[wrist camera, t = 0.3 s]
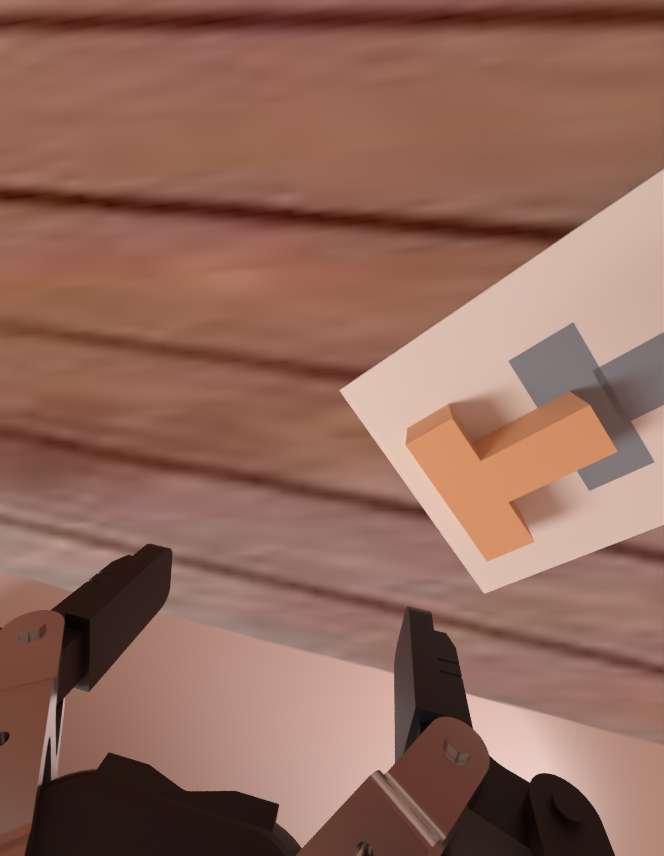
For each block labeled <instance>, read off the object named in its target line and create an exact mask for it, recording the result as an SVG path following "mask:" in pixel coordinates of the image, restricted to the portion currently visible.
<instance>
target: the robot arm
mask: <svg viewBox="0 0 664 856" xmlns="http://www.w3.org/2000/svg"><path fill="white" fill-rule="evenodd" d="M171 567H172V550H171V549H170V548H166V547H162V546H158V545H153V544H147V545H145V546H144V547H143V548H142V549H141V550H139V551H138V552H137V553H136V554H135V555H133V556H131V555H127V556H124V557H122V558H120V559H117V560H115V561H113V562H111V563H110V564H109V565H107V566H106V567H105V568H104V569H102V570H101V571H100V572H99V574H96V575H95V576H93V577H92V578H91V579H90V580H89V582H86V583H85V584H83V585H82V586H81V587H80V588H78V589H77V590H76V591H74V592H73V593H72V594H71V595H70V596H68V597H67V598H66V599H64V600H63V601H62V602H61V603H59V604H58V605H57V606H55V607H54V608H53V609H52V610H41V611H35V612H31V613H27V614H24V615H21V616H19V617H17V618H15V619H13V620H12V621H10V622H9V623H8V624H6V625H5V626H4V627H3V628H0V856H615V854H614V852H613V849H612V847H611V844H610V842H609V839H608V836H607V834H606V831H605V829H604V827H603V824H602V821H601V819H600V817H599V815H598V814H597V812H596V810H595V809H594V807H593V806H592V804H591V803H590V802H589V801H588V800H587V798H586V797H585V796H584V795H583V794H582V793H581V792H580V791H579V790H578V789H577V788H575V787H574V786H573V785H572V784H570V783H569V782H567V781H566V780H564V779H562V778H560V777H558V776H555V775H552V774H546V773H542V774H538V775H536V776H535V777H533V778H532V780H531V782H530V783H529V782H527V781H526V780H524V779H522V778H521V777H519V776H517V775H516V774H514V773H512V772H510V771H509V770H507V769H505V768H504V767H502V766H501V765H500V764H498V763H497V762H496V761H495V760H493V759H492V758H491V757H490V756H489V754H488V751H487V748H486V746H485V744H484V742H483V740H482V739H481V737H480V736H479V735H478V734H477V733H476V732H475V731H474V730H473V727H472V722H471V718H470V713H469V709H468V704H467V699H466V694H465V689H464V685H463V680H462V679H461V676H462V675H461V670H460V666H459V661H458V656H457V651H456V648H455V646H454V644H453V643H452V641H451V640H450V638H449V637H448V635H447V634H446V633H443V632H439V631H435V630H434V627H433V620H432V614H431V612H430V611H426V610H421V609H417V608H413V607H409V606H407V608H406V611H405V615H404V619H403V623H402V627H401V631H400V635H399V639H398V643H397V648H396V654H395V663H394V690H395V691H394V692H395V764H394V765H393V766H392V767H391V769H390V770H389V771H388V772H387V773H385V774H384V775H383V773H382V772H381V771H379V770H378V771H375V772H374V773H373V774H371V775H370V776H369V777H368V778H367V779H366V780H365V782H364V783H363V784H362V785H361V786H360V787H359V788H358V789H357V790H356V791H355V792H354V793H353V795H352V796H351V797H350V798H349V799H348V800H347V801H346V802H345V803H344V804H343V805H342V806H341V807H340V808H339V809H338V811H337V812H336V813H335V814H334V815H333V816H332V817H331V818H330V819H329V820H328V821H327V822H326V823H325V824H324V826H323V827H322V828H321V829H320V830H319V831H318V832H317V833H316V834H315V835H314V836H313V838H311V840H310V841H309V842H308V843H307V844H306V845H305V846H304V847H303V848H301V847H300V845H299V844H298V843H297V842H296V840H295V839H294V838H293V837H292V836H291V835H290V834H289V833H288V832H287V831H286V830H285V829H283V828H282V827H281V826H279V825H278V824H277V823H276V819H277V813H278V808H279V804H277V803H273V802H270V801H267V800H263V799H260V798H257V797H254V796H250V795H247V794H243V793H240V792H237V791H194V792H193V791H192V792H191V791H185V790H183V789H181V788H180V787H179V786H177V785H176V784H175V783H173V782H172V781H170V780H169V779H168V778H166V777H165V776H164V775H162V774H161V773H159V772H158V771H157V770H156V769H154V768H153V767H152V766H150V765H148V764H145V763H142V762H139V761H135V760H132V759H129V758H126V757H122V756H119V755H115V754H112V753H108V754H107V756H106V757H105V759H104V760H103V761H102V763H101V764H100V766H99V767H98V769H90V770H83V771H78V772H74V773H71V774H67V775H64V776H61V777H59V778H57V769H58V760H59V751H60V742H61V733H62V724H63V714H64V705H65V696H66V695H67V694H68V693H69V692H70V690H72V689H73V688H77V689H80V690H84V691H87V692H89V691H90V690H91V689H92V688H93V687H94V686H95V684H96V683H97V682H98V681H99V680H100V679H101V677H102V676H103V675H104V674H105V673H106V672H107V671H108V669H109V668H110V667H111V666H112V665H113V664H114V662H115V661H116V660H117V659H118V657H120V655H121V654H122V653H123V652H124V651H125V650H126V649H127V647H128V646H129V645H130V644H131V643H132V642H133V640H134V639H135V638H136V637H137V636H138V635H139V633H140V632H141V631H142V630H143V629H144V628H145V626H146V625H147V624H148V623H149V622H150V621H151V620H152V618H153V617H154V616H155V615H156V614H157V613H158V611H159V610H160V609H161V608H162V607H163V605H164V603H165V601H166V599H167V597H168V594H169V590H170V580H171Z"/></svg>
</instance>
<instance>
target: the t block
mask: <svg viewBox="0 0 664 856" xmlns="http://www.w3.org/2000/svg"><path fill="white" fill-rule="evenodd" d="M406 447H407V448H408V449H409V451H410V452H411V454H412V455H413V457H414V458H415V459H416V461H417V462H418V464H419V465H420V467H421V468H422V469H423V471H424V472H425V474H426V475H427V477H428V478H429V479H430V481H431V482H432V484H433V485H434V487H435V488H436V489H437V491H438V492H439V494H440V495H441V497H442V498H443V499H444V501H445V502H446V504H447V505H448V507H449V508H450V509H451V511H452V512H453V514H454V515H455V517H456V518H457V519H458V521H459V522H460V524H461V525H462V527H463V528H464V529H465V531H466V532H467V534H468V535H469V537H470V538H471V539H472V541H473V542H474V544H475V545H476V547H477V548H478V549H479V551H480V552H481V554H482V555H483V557H484V558H485V559H486V561H490V560H492V559H495V558H497V557H499V556H502V555H504V554H507V553H509V552H512V551H514V550H516V549H519V548H521V547H524V546H526V545H529V544H531V543H533V542H534V539H533V537H532V535H531V533H530V531H529V528H528V526H527V524H526V522H525V520H524V517H523V515H522V514H521V512H520V511H519V509H518V508H517V506H516V505H515V503H514V502H513V500H514V499H517V498H519V497H521V496H523V495H525V494H527V493H530V492H532V491H534V490H536V489H538V488H540V487H543V486H545V485H547V484H549V483H551V482H553V481H556V480H558V479H560V478H562V477H564V476H566V475H569V474H571V473H573V472H575V471H577V470H579V469H582V468H584V467H586V466H588V465H590V464H592V463H595V462H597V461H599V460H601V459H603V458H605V457H608V456H610V455H612V454H614V453H616V452H618V451H617V449H616V448H615V446H614V444H613V443H612V441H611V439H610V438H609V436H608V434H607V433H606V431H605V429H604V428H603V426H602V424H601V423H600V421H599V419H598V418H597V416H596V414H595V413H594V411H593V409H592V408H591V406H590V405H589V404H588V403H586V402H585V401H583V400H582V399H580V398H579V397H577V396H576V395H574V394H573V393H571V392H570V391H568V392H566V393H564V394H562V395H560V396H559V397H557V398H555V399H553V400H551V401H549V402H547V403H546V404H544V405H542V406H540V407H538V408H536V409H534V410H533V411H531V412H529V413H527V414H525V415H523V416H521V417H520V418H518V419H516V420H514V421H512V422H510V423H508V424H507V425H505V426H503V427H501V428H499V429H497V430H495V431H494V432H492V433H490V434H488V435H486V436H484V437H482V438H481V439H479V440H477V441H475V442H474V441H473V440H472V438H471V437H470V435H469V434H468V432H467V431H466V429H465V428H464V426H463V425H462V423H461V422H460V420H459V419H458V417H457V416H456V414H455V413H454V411H453V410H452V408H451V407H450V405H449V404H447V405H445V406H444V407H442V408H440V409H439V410H437V411H435V412H434V413H432V414H430V415H429V416H427V417H425V418H424V419H422V420H420V421H418V422H417V423H415V424H413V425H412V426H410V427H408V428H407V435H406Z"/></svg>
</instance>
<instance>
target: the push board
mask: <svg viewBox="0 0 664 856" xmlns="http://www.w3.org/2000/svg"><path fill="white" fill-rule="evenodd" d="M339 391H340V392H341V393H342V395H343V396H344V398H345V399H346V400H347V402H348V403H349V405H350V406H351V407H352V409H353V410H354V412H355V413H356V414H357V416H358V417H359V419H360V420H361V421H362V423H363V424H364V426H365V427H366V428H367V430H368V431H369V433H370V434H371V435H372V437H373V438H374V440H375V441H376V442H377V444H378V445H379V447H380V448H381V449H382V451H383V452H384V454H385V455H386V457H387V458H388V459H389V461H390V462H391V464H392V465H393V466H394V468H395V469H396V471H397V472H398V473H399V475H400V476H401V478H402V479H403V480H404V482H405V483H406V485H407V486H408V487H409V489H410V490H411V492H412V493H413V494H414V496H415V497H416V499H417V500H418V501H419V503H420V504H421V506H422V507H423V508H424V510H425V511H426V513H427V514H428V515H429V517H430V518H431V520H432V521H433V522H434V524H435V525H436V527H437V528H438V529H439V531H440V532H441V534H442V535H443V537H444V538H445V539H446V541H447V542H448V544H449V545H450V546H451V548H452V549H453V551H454V552H455V553H456V555H457V556H458V558H459V559H460V560H461V562H462V563H463V565H464V566H465V567H466V569H467V570H468V572H469V573H470V574H471V576H472V577H473V579H474V580H475V581H476V583H477V584H478V586H479V587H480V588H481V590H482V591H483V593H484V594H485V593H487V592H490V591H492V590H495V589H498V588H500V587H503V586H505V585H508V584H511V583H513V582H516V581H518V580H521V579H524V578H526V577H529V576H531V575H534V574H537V573H539V572H542V571H544V570H547V569H550V568H552V567H555V566H557V565H560V564H563V563H565V562H568V561H570V560H573V559H576V558H578V557H581V556H583V555H586V554H589V553H591V552H594V551H596V550H599V549H602V548H604V547H607V546H610V545H612V544H615V543H617V542H620V541H623V540H625V539H628V538H630V537H633V536H636V535H638V534H641V533H643V532H646V531H649V530H651V529H654V528H656V527H659V526H662V525H664V168H663V169H662V170H660V171H659V172H658V173H656V174H655V175H653V176H652V177H650V178H649V179H647V180H646V181H644V182H643V183H641V184H640V185H638V186H637V187H636V188H634V189H633V190H631V191H630V192H628V193H627V194H625V195H624V196H622V197H621V198H619V199H618V200H617V201H615V202H614V203H612V204H611V205H609V206H608V207H606V208H605V209H603V210H602V211H600V212H599V213H598V214H596V215H595V216H593V217H592V218H590V219H589V220H587V221H586V222H584V223H583V224H581V225H580V226H578V227H577V228H576V229H574V230H573V231H571V232H570V233H568V234H567V235H565V236H564V237H562V238H561V239H559V240H558V241H557V242H555V243H554V244H552V245H551V246H549V247H548V248H546V249H545V250H543V251H542V252H540V253H539V254H538V255H536V256H535V257H533V258H532V259H530V260H529V261H527V262H526V263H524V264H523V265H521V266H520V267H518V268H517V269H516V270H514V271H513V272H511V273H510V274H508V275H507V276H505V277H504V278H502V279H501V280H499V281H498V282H497V283H495V284H494V285H492V286H491V287H489V288H488V289H486V290H485V291H483V292H482V293H480V294H479V295H478V296H476V297H475V298H473V299H472V300H470V301H469V302H467V303H466V304H464V305H463V306H461V307H460V308H458V309H457V310H456V311H454V312H453V313H451V314H450V315H448V316H447V317H445V318H444V319H442V320H441V321H439V322H438V323H437V324H435V325H434V326H432V327H431V328H429V329H428V330H426V331H425V332H423V333H422V334H420V335H419V336H417V337H416V338H415V339H413V340H412V341H410V342H409V343H407V344H406V345H404V346H403V347H401V348H400V349H398V350H397V351H396V352H394V353H393V354H391V355H390V356H388V357H387V358H385V359H384V360H382V361H381V362H379V363H378V364H377V365H375V366H374V367H372V368H371V369H369V370H368V371H366V372H365V373H363V374H362V375H360V376H359V377H357V378H356V379H355V380H353V381H352V382H350V383H349V384H347V385H346V386H344V387H343V388H341V389H340V390H339ZM568 391H570V392H571V393H573V394H574V395H576V396H577V397H579V398H580V399H582V400H583V401H585V402H586V403H588V404H589V405H590V406H591V408H592V409H593V411H594V413H595V414H596V416H597V418H598V419H599V421H600V423H601V424H602V426H603V428H604V429H605V431H606V433H607V434H608V436H609V438H610V439H611V441H612V443H613V444H614V446H615V448H616V449H617V451H618V452H616V453H614V454H612V455H610V456H608V457H605V458H603V459H601V460H599V461H597V462H595V463H592V464H590V465H588V466H586V467H584V468H582V469H579V470H577V471H575V472H573V473H571V474H569V475H566V476H564V477H562V478H560V479H558V480H556V481H553V482H551V483H549V484H547V485H545V486H543V487H540V488H538V489H536V490H534V491H532V492H530V493H527V494H525V495H523V496H521V497H519V498H517V499H514V500H513V502H514V503H515V505H516V506H517V508H518V509H519V511H520V512H521V514H522V515H523V517H524V520H525V522H526V524H527V526H528V528H529V531H530V533H531V535H532V537H533V539H534V542H533V543H531V544H529V545H526V546H524V547H521V548H519V549H516V550H514V551H512V552H509V553H507V554H504V555H502V556H499V557H497V558H495V559H492V560H490V561H486V559H485V558H484V557H483V555H482V554H481V552H480V551H479V549H478V548H477V547H476V545H475V544H474V542H473V541H472V539H471V538H470V537H469V535H468V534H467V532H466V531H465V529H464V528H463V527H462V525H461V524H460V522H459V521H458V519H457V518H456V517H455V515H454V514H453V512H452V511H451V509H450V508H449V507H448V505H447V504H446V502H445V501H444V499H443V498H442V497H441V495H440V494H439V492H438V491H437V489H436V488H435V487H434V485H433V484H432V482H431V481H430V479H429V478H428V477H427V475H426V474H425V472H424V471H423V469H422V468H421V467H420V465H419V464H418V462H417V461H416V459H415V458H414V457H413V455H412V454H411V452H410V451H409V449H408V448H407V447H406V435H407V428H408V427H410V426H412V425H413V424H415V423H417V422H418V421H420V420H422V419H424V418H425V417H427V416H429V415H430V414H432V413H434V412H435V411H437V410H439V409H440V408H442V407H444V406H445V405H447V404H449V405H450V407H451V408H452V410H453V411H454V413H455V414H456V416H457V417H458V419H459V420H460V422H461V423H462V425H463V426H464V428H465V429H466V431H467V432H468V434H469V435H470V437H471V438H472V440H473V441H474V442H475V441H477V440H479V439H481V438H482V437H484V436H486V435H488V434H490V433H492V432H494V431H495V430H497V429H499V428H501V427H503V426H505V425H507V424H508V423H510V422H512V421H514V420H516V419H518V418H520V417H521V416H523V415H525V414H527V413H529V412H531V411H533V410H534V409H536V408H538V407H540V406H542V405H544V404H546V403H547V402H549V401H551V400H553V399H555V398H557V397H559V396H560V395H562V394H564V393H566V392H568Z"/></svg>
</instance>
